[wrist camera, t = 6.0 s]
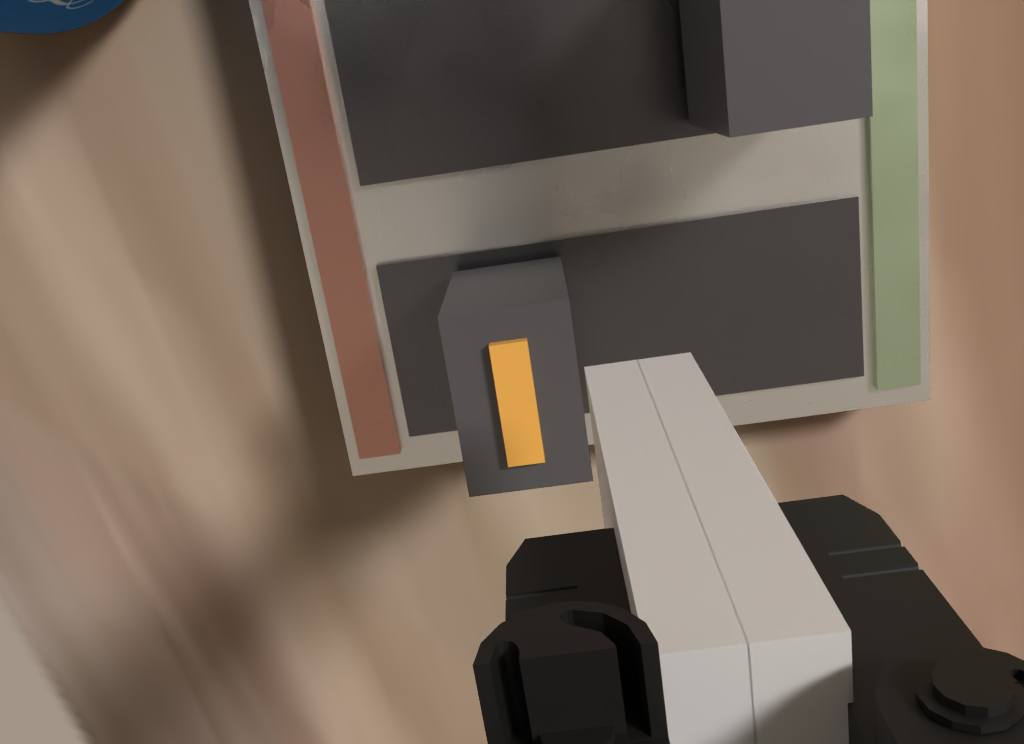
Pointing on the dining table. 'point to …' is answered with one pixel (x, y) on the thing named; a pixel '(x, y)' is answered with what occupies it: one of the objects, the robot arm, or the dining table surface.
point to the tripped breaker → (515, 377)
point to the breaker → (775, 63)
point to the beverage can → (51, 14)
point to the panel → (593, 206)
